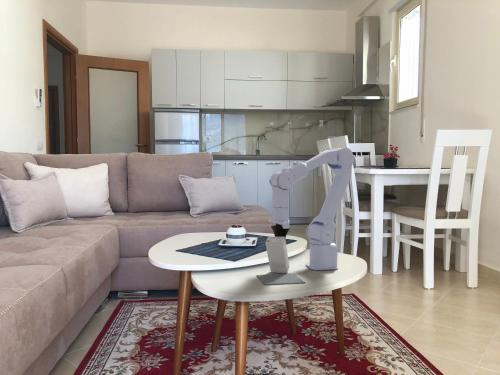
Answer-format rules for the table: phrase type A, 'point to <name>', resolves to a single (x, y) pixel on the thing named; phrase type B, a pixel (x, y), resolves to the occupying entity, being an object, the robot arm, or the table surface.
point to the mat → (280, 279)
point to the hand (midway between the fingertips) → (280, 246)
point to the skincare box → (277, 254)
